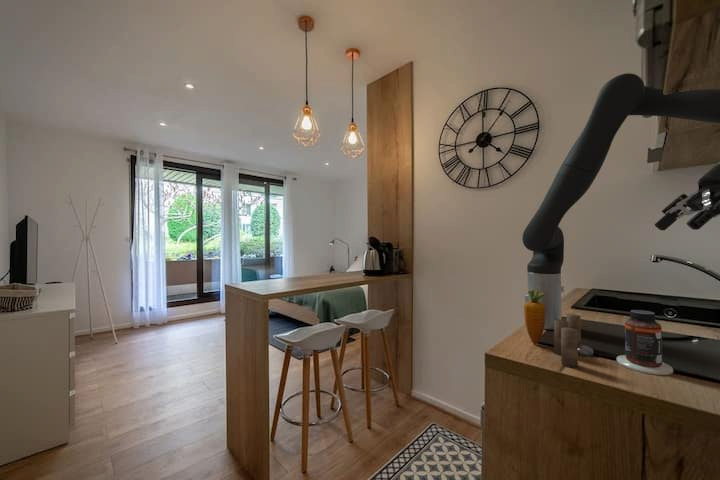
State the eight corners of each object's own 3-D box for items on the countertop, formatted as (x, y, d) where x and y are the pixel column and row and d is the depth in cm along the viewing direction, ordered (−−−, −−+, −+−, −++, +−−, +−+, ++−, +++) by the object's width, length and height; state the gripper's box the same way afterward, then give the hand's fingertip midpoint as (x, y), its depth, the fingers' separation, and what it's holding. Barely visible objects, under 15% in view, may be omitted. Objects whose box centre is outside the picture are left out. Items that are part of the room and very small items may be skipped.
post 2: (564, 344, 78) (563, 314, 78) (571, 343, 80) (570, 313, 80) (576, 348, 76) (575, 317, 76) (583, 346, 77) (583, 316, 77)
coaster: (607, 361, 67) (607, 359, 67) (629, 355, 71) (629, 352, 71) (659, 378, 59) (659, 375, 59) (682, 370, 63) (682, 367, 63)
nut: (570, 353, 73) (570, 348, 73) (576, 347, 76) (576, 343, 75) (590, 358, 70) (590, 354, 70) (595, 353, 72) (595, 348, 72)
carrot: (536, 340, 82) (535, 286, 82) (550, 347, 77) (549, 289, 77) (520, 341, 81) (519, 287, 81) (533, 348, 76) (532, 290, 76)
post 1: (551, 352, 73) (551, 320, 73) (559, 350, 75) (558, 318, 75) (563, 356, 71) (563, 323, 71) (571, 354, 72) (571, 321, 72)
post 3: (558, 363, 67) (558, 328, 67) (567, 361, 68) (566, 326, 68) (572, 369, 64) (571, 332, 64) (581, 366, 65) (580, 330, 65)
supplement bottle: (670, 369, 62) (669, 315, 62) (637, 367, 63) (636, 314, 63) (648, 358, 68) (648, 308, 68) (619, 356, 69) (618, 308, 69)
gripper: (691, 169, 71) (636, 218, 73) (758, 152, 57) (688, 213, 59) (718, 190, 70) (662, 239, 72) (793, 178, 56) (720, 239, 58)
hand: (674, 227), depth 66 cm, fingers open, 8 cm apart
